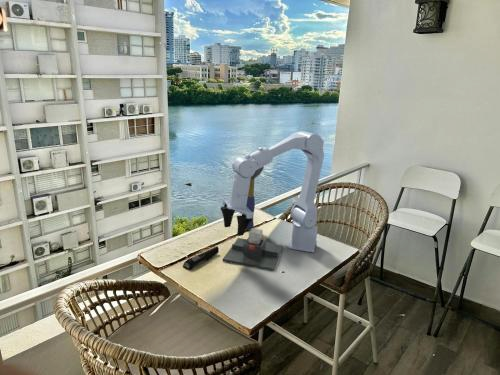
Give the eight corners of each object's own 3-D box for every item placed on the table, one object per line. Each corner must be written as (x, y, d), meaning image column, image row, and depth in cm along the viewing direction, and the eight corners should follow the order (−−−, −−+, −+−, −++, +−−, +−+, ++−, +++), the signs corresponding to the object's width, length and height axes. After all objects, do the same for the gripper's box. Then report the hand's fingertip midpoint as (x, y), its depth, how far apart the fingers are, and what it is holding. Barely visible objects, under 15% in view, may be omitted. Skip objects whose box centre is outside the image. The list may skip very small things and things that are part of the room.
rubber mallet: (244, 222, 158) (248, 155, 149) (261, 224, 156) (265, 157, 147) (235, 233, 147) (238, 161, 138) (253, 236, 145) (257, 163, 136)
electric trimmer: (221, 255, 129) (221, 247, 128) (189, 271, 117) (189, 263, 116) (213, 252, 131) (213, 244, 130) (181, 267, 119) (181, 259, 118)
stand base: (283, 247, 136) (284, 235, 135) (273, 271, 120) (274, 257, 118) (238, 240, 141) (238, 228, 139) (222, 261, 124) (222, 248, 123)
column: (261, 249, 131) (262, 229, 129) (258, 254, 128) (259, 234, 125) (250, 248, 132) (251, 228, 130) (247, 252, 129) (248, 232, 126)
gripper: (217, 187, 123) (212, 224, 126) (243, 200, 113) (237, 240, 116) (233, 186, 128) (228, 222, 131) (260, 199, 117) (253, 237, 121)
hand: (233, 230), depth 124 cm, fingers open, 7 cm apart
